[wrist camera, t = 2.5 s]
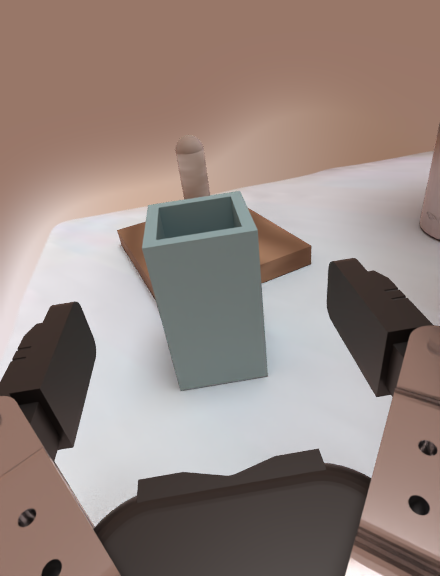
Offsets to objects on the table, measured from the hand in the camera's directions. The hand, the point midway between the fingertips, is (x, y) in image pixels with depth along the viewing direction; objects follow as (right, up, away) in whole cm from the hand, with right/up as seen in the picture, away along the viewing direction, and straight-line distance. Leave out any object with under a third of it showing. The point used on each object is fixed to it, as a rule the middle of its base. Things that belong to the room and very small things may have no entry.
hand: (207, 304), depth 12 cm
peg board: (-1, +4, +28) cm, 29 cm away
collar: (0, -4, +16) cm, 16 cm away
